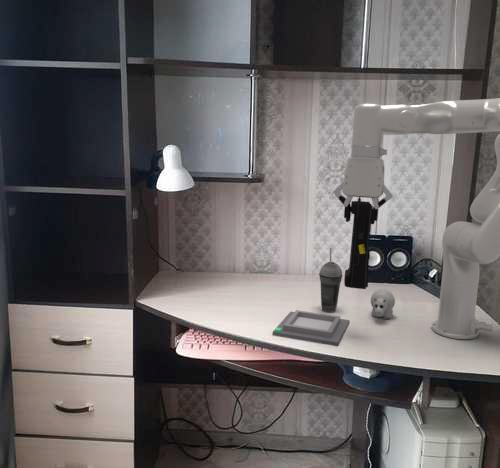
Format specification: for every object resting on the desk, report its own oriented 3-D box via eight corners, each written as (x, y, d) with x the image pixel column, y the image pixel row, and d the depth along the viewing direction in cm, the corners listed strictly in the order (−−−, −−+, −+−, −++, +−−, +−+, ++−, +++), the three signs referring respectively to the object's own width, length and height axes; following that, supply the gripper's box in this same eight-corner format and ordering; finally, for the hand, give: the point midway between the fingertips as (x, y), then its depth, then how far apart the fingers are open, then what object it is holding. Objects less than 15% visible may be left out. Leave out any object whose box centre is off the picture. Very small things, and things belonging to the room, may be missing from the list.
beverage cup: (322, 314, 152) (326, 251, 149) (313, 307, 159) (316, 246, 156) (344, 313, 154) (348, 250, 151) (334, 305, 161) (337, 245, 157)
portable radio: (368, 290, 129) (377, 196, 125) (344, 288, 130) (353, 194, 126) (366, 282, 137) (375, 193, 132) (344, 280, 138) (352, 191, 133)
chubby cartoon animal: (363, 322, 147) (365, 295, 145) (372, 310, 157) (374, 285, 156) (388, 327, 144) (390, 299, 142) (395, 314, 154) (397, 288, 153)
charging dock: (349, 323, 146) (349, 315, 145) (337, 346, 129) (338, 337, 129) (290, 314, 152) (290, 306, 151) (272, 335, 135) (272, 326, 135)
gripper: (401, 154, 128) (394, 223, 131) (335, 151, 133) (330, 217, 137) (399, 155, 121) (392, 227, 124) (330, 151, 126) (325, 221, 130)
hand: (360, 221), depth 130 cm, fingers closed on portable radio, 5 cm apart
